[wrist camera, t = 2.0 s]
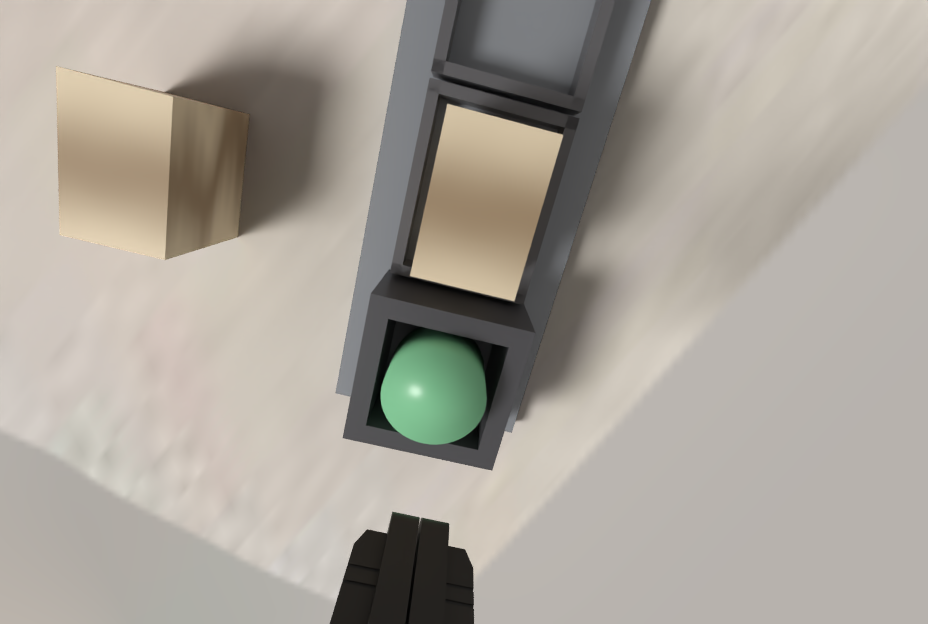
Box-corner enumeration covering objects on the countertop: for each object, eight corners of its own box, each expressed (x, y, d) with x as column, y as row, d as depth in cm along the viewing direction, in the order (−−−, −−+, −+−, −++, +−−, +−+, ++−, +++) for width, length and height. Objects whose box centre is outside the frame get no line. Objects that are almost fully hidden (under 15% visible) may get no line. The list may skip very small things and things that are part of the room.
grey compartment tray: (439, -156, 19) (429, -280, 13) (671, -84, 19) (747, -177, 14) (340, 384, 26) (308, 440, 21) (510, 423, 27) (520, 485, 22)
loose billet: (164, 92, 22) (56, 66, 16) (250, 114, 22) (173, 96, 16) (159, 217, 23) (59, 234, 18) (238, 237, 24) (164, 259, 18)
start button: (402, 315, 21) (391, 338, 18) (494, 337, 21) (498, 363, 19) (384, 398, 22) (371, 432, 20) (471, 417, 23) (471, 454, 20)
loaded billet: (453, 120, 21) (447, 103, 15) (537, 142, 21) (563, 135, 15) (424, 247, 23) (409, 275, 17) (502, 267, 23) (514, 301, 17)
